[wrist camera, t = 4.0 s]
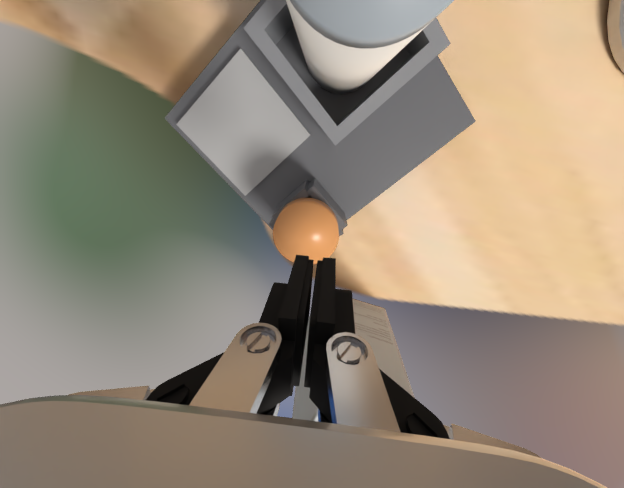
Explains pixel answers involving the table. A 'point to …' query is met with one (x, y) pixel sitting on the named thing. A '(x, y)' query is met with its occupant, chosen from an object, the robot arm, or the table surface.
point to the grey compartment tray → (315, 118)
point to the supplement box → (382, 341)
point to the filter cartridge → (356, 36)
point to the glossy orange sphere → (306, 230)
